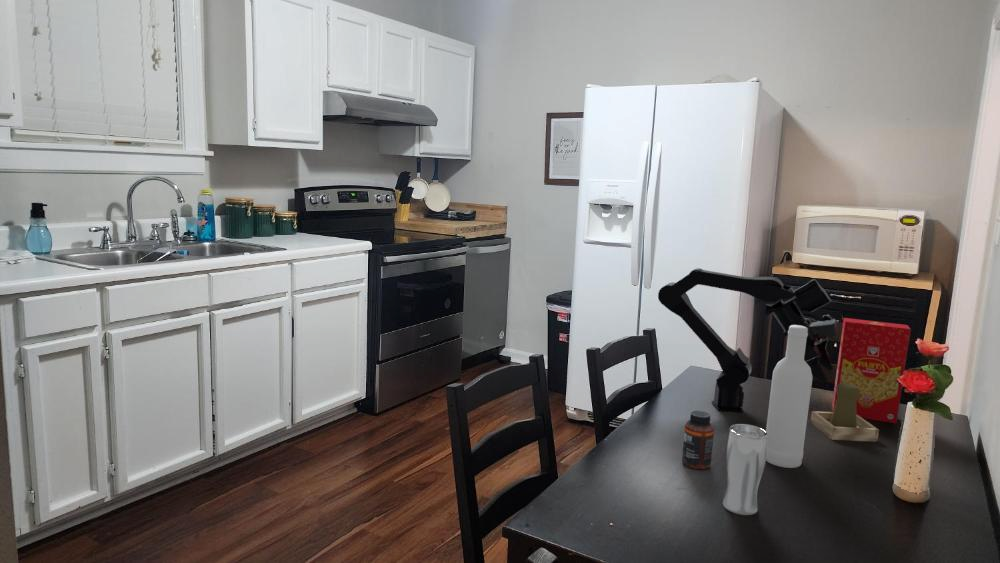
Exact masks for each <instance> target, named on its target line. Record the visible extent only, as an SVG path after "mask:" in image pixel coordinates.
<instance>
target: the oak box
mask: <svg viewBox="0 0 1000 563" xmlns="http://www.w3.org/2000/svg"><path fill="white" fill-rule="evenodd" d="M832 414H833V411H816V410H815V411H811V415H810V423H811V425H813V426H814V427H815V428H817V430H819V431H820V432H821V433H823V435H825V436H826V437H827V438H829V439H830V440H831V441H832V440H833V441H852V442H871V443H872V442H873V443H875V442H877V443H878V439H879V432H880V429H878V428H877V427H876V426H874V425H873V424H871V423H870V422H869V421H867V419H866V420H865V418H861V417H860V416H858V415H857V414H856V424H857V428H855V427H835V426H833V425H832V424H831V423H830V421H831V417H832Z"/></svg>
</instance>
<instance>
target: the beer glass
mask: <svg viewBox="0 0 1000 563" xmlns="http://www.w3.org/2000/svg"><path fill="white" fill-rule="evenodd" d="M767 439H768V433H767V432H766V429H763V428H761V427H758V426H756V425H752V424H747V423H735V424H732V425H731V426H730V427H729V431H728V437H727V440H726V441H727V442H726V448H725V449H726V450H725V468H726V481H727V482H726V490H725V493H724V497H723V500H722V505H723V507H724V508H725V509H726V511H727V510H728V511H729V512H731V513H734V514H736V515H741V516H752V515H753V516H754V515H755V514H757V512H758V489H759V485H760V482H761V479H762V477H763V473H764V470H765V466H766V462H767V461H766V457H767Z"/></svg>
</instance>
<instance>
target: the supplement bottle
mask: <svg viewBox="0 0 1000 563" xmlns="http://www.w3.org/2000/svg"><path fill="white" fill-rule="evenodd" d="M683 431H684V432H683V433H684V434H683V444H682V455H681V457H682V458H681V461H682V464H683V465H685V466H686V467H687V468H690V469H694V470H707V469H708V468H710V467H711V465H712V464H711V463H712V455H713V454H712V453H713V447H714V446H713V445H714V444H713V443H714V435H715V434H714V433H715V428H714V425H713V424H712V423H711V414H710V413H709V412H706V411H704V410H693V411H691V412H690V417H689V420H687V421H686V422H685V424H684V430H683Z"/></svg>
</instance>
